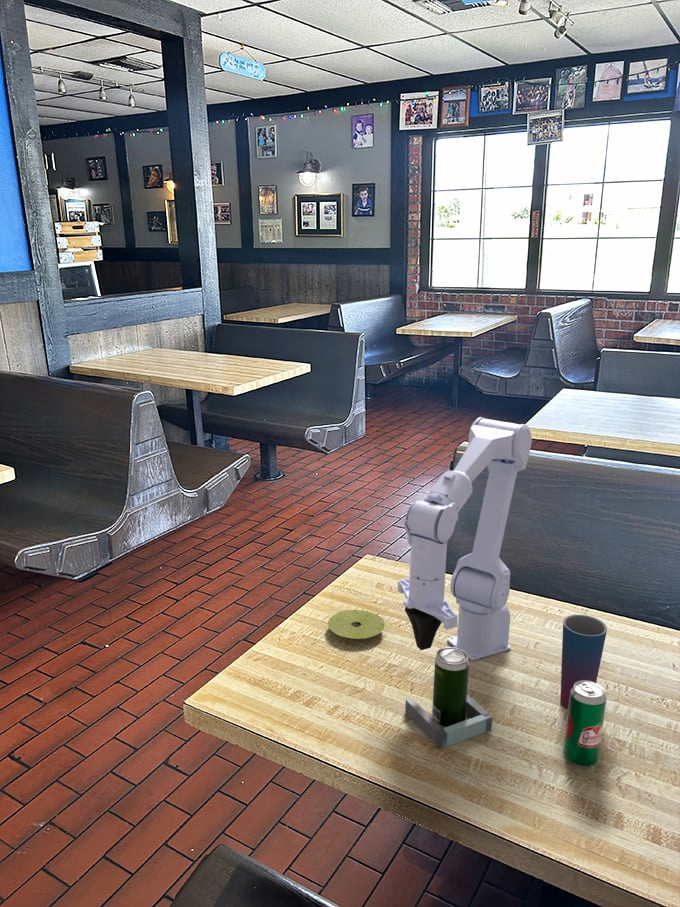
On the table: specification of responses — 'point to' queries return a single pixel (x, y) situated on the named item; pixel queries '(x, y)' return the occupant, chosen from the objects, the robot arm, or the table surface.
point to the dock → (454, 733)
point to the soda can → (584, 723)
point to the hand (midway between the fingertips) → (424, 647)
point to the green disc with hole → (356, 624)
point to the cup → (580, 652)
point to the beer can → (450, 686)
